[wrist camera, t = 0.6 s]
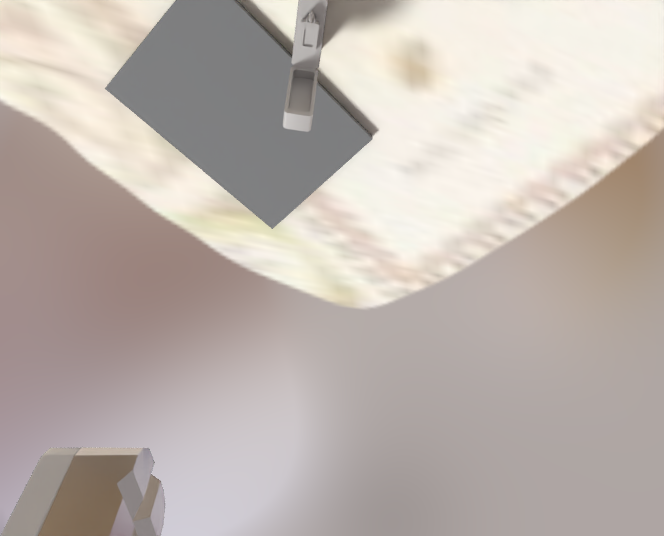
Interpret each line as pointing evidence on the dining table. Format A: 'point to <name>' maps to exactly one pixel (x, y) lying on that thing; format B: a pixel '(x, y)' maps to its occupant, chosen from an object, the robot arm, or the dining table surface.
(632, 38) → the dining table surface
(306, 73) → the lighter
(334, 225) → the dining table surface
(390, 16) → the dining table surface
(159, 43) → the mat
